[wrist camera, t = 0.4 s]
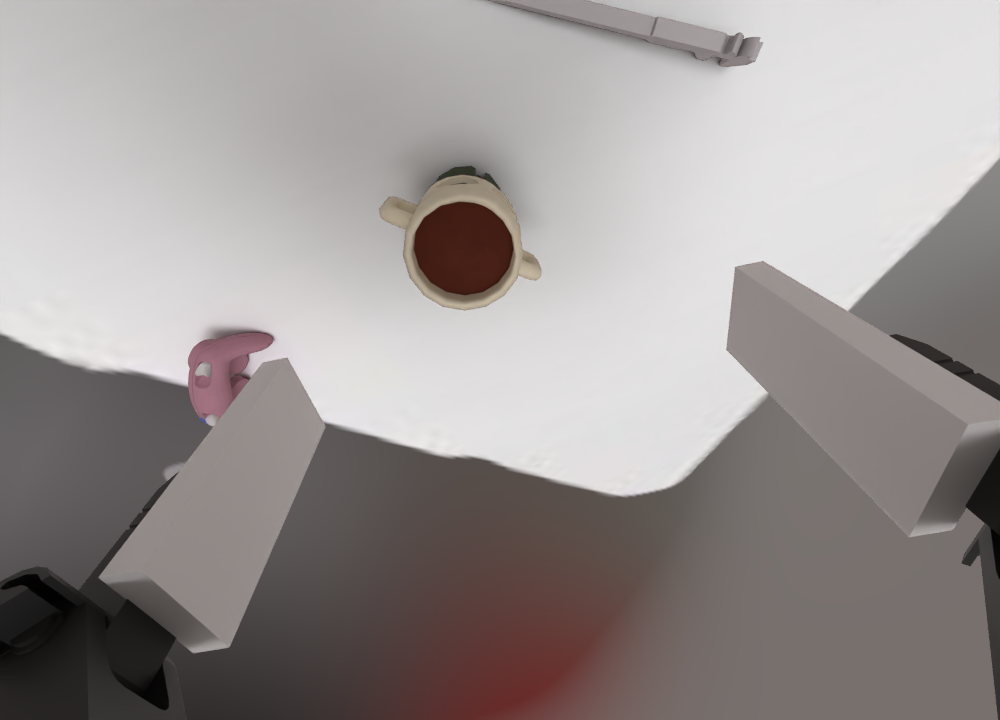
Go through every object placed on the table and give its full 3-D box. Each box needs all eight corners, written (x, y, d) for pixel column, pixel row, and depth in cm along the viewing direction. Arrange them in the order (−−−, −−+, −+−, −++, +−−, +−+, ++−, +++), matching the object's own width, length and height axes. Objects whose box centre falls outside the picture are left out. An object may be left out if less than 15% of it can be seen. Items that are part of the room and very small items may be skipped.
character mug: (543, 191, 36) (574, 236, 25) (507, 267, 39) (521, 336, 28) (417, 132, 33) (389, 153, 22) (391, 219, 36) (355, 275, 25)
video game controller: (241, 317, 42) (168, 345, 36) (277, 333, 41) (207, 365, 35) (252, 397, 47) (189, 432, 41) (284, 413, 46) (224, 452, 40)
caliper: (729, 50, 31) (782, 41, 26) (722, 67, 32) (772, 63, 27) (453, -29, 28) (449, -57, 23) (451, -8, 29) (446, -31, 24)
